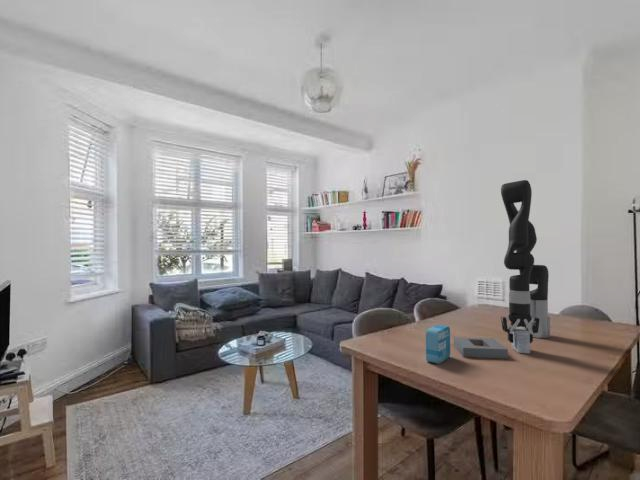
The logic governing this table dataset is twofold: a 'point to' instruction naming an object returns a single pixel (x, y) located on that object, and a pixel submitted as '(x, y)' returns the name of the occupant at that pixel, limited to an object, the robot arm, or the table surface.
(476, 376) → the table surface
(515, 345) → the medicine box
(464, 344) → the grey slotted block
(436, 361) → the blue printed box
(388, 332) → the table surface
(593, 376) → the table surface
